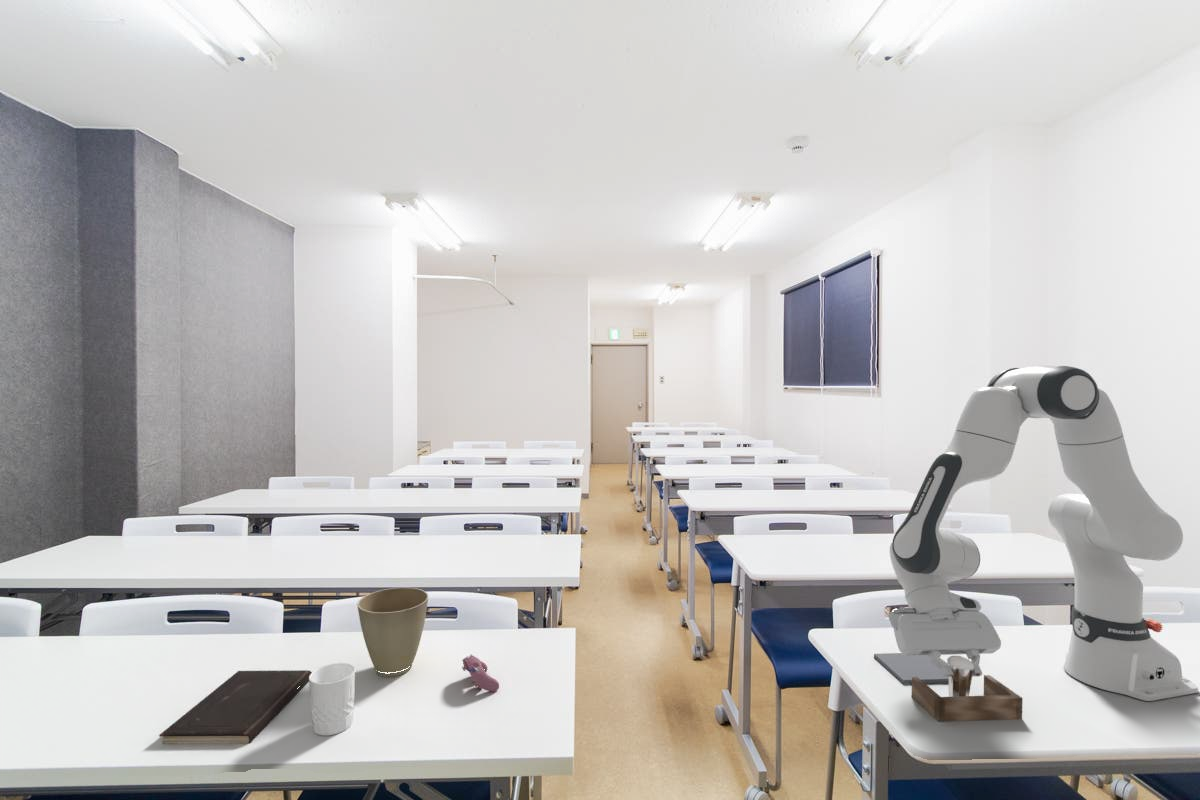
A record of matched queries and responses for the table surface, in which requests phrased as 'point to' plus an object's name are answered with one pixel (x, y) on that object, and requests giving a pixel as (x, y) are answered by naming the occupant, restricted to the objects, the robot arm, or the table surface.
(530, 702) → the table surface
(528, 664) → the table surface
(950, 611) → the robot arm
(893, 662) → the grey pad
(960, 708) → the walnut cubby
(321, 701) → the white cup
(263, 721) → the hardcover book
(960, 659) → the milkshake
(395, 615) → the plant pot
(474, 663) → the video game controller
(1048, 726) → the table surface
